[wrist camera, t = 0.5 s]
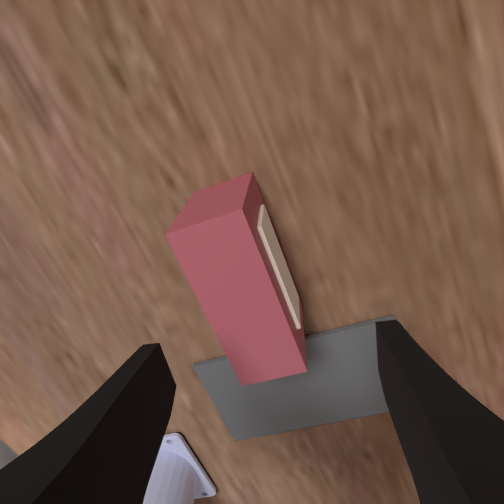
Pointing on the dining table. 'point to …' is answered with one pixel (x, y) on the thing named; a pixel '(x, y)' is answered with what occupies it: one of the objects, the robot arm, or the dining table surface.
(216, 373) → the mat
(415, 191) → the dining table surface
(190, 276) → the box
